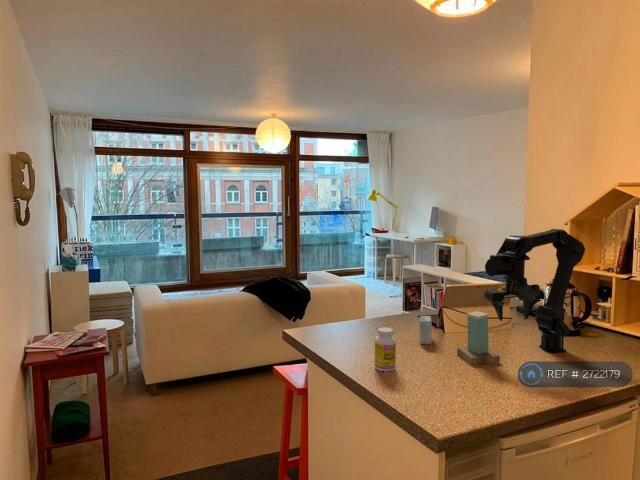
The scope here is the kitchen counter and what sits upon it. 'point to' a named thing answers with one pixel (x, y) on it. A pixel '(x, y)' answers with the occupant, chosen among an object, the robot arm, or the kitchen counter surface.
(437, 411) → the kitchen counter surface
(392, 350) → the supplement bottle
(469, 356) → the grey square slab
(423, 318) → the medicine box
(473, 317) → the tea tin
